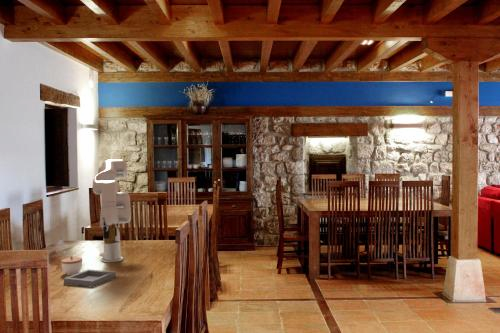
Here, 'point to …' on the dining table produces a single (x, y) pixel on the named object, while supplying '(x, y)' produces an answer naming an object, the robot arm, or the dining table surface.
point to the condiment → (111, 235)
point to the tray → (90, 278)
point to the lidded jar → (71, 265)
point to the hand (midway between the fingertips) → (110, 236)
